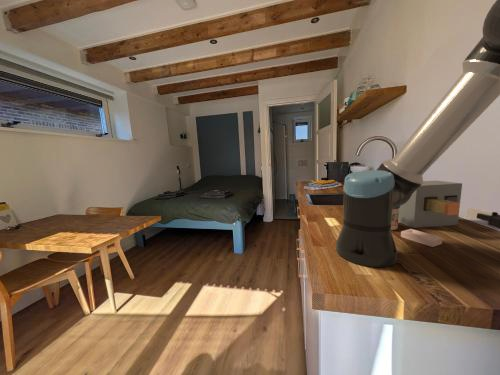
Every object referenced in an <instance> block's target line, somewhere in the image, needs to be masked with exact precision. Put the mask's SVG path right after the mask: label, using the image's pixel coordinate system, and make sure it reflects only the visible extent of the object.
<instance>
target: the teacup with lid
mask: <svg viewBox="0 0 500 375" xmlns="http://www.w3.org/2000/svg"><path fill="white" fill-rule="evenodd" d="M399 208H400V206H399V207H396V208H395V209H393V210H392V220H391V231H395V230H397V229H399V222H398V217H399Z"/></svg>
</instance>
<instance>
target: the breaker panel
mask: <svg viewBox="0 0 500 375" xmlns="http://www.w3.org/2000/svg"><path fill="white" fill-rule="evenodd" d="M462 190H463V183H462V182H461V183H460V182H453V181H443V180H423V183H422V185H421V186H420V187H419V188H418V189H417V190H416V191H415V192H414V193H413V194H412V196H411V197H410V199H409V200H408V201H407V202H406V203H405V204H403V205H401V206H400V208H399V217H398V223H400V224H403V225H405V226H407V227H410V228H413V229H414V228H415V229H417V228H431V227H443V226H458V225H459V216H460V213H459V214H457V215H445V214H441V213H438V212H434V211H430V210H426V209H424V197H433V198H438V199H443V200H448V201H454V202H459V203H460V204H461V198H462ZM460 208H461V205H460V206H459V209H460ZM457 224H458V225H457Z"/></svg>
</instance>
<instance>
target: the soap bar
mask: <svg viewBox="0 0 500 375" xmlns="http://www.w3.org/2000/svg"><path fill="white" fill-rule="evenodd" d="M400 237H401V238H404V239H407V240H409V241H413V242H415V243H419V244H422V245H424V246H428V247H436V246H440V245H442V244H443V238H442V237H441V236H438V235H435V234H430V233H427V232H424V231H420V230H417V229H414V228H413V229H412V228H409V229H405V230H402V231H400Z"/></svg>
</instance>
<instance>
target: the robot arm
mask: <svg viewBox="0 0 500 375" xmlns="http://www.w3.org/2000/svg"><path fill="white" fill-rule="evenodd" d="M461 63H462V64H461V65H462V70H463V71H462V73H461V75H460V76H459V77H458V79H457V80H456V81H455V82H454V84H453V85H451V87H450V89H448V91H447V92H446V94H444V96H443V97H442V98H441V99H440V101H439V102H438V103H437V104H436V106H434V108H432V110H431V111H430V113H429V114H428V115H427V117H425V119H424V120H423V122H422V123H421V124H419V126H418V127H417V129H416V130H415V131H414V132H413V133H412V134H411V136H410V137H409V138H408V139H407V140H406V142H405V143H404V144H403V145H402V147H401V148H400V149H399V150H398V152H397V153H396V154H395V155H394V157H392V158H391V159H387V160H383V161H382V163H380V165H379V166H378V168H376V170H375V169H373V170H372V169H369V170H361V171H353V172H351V173H348V174H347V175H346V176H345V177H344V183H343V186H342V187H343V189H342V190H343V206H342V207H343V209H342V210H343V212H342V213H343V214H342V216H343V218H342V227H341V230H340V232H339V234H338V236H337V237H338V238H337V239H336V243H335V251H336V253H337V254H338V255H339V256H340V257H341V258H343V259H345V260H347V261H349V262H351V263H354V264H355V265H356V264H357V265H360V266H365V267H372V268H385V267H391V266H393V265H395V264H397V262H398V249H397V247H396V244H395V243H396V242H395V240H394V236H393V234H392V230H391V220H392V210H393V209H395V208H396V207H399V206H401V205H403V204H405V203H406V202H407V201H408V200H409V199H410V197H411V196H412V194H413V193H414V192H415V191H416V190H417V189H418V188H419V187H420V186H421V185H422V183H423V181H424V179H423V175H424V174H425V173H426V172H427V171H428V169H430V167H432V165H433V164H434V163H435V162H436V161H438V160H439V158H441V156H442V155H443V154H444V153H446V152H447V150H448V149H449V148H450V146H451V147H452V145H453V144H454V142H456V141H457V140H458V139H459V138H460V137H461V136H462V135H463V133H464V132H466V131H467V129H468V128H469V127H471V125H472V124H473V123H474V122H476V120H477V119H478V118H479V117H480V116H481V115H482V114H483V113H484V112H485V111H486V110H488V108H489V107H490V106H491V105H492V104H493V103H494V102H495V100H497V98H498V97H500V0H496V1H494V3H493V4H492V6H491V7H490V9H489V11H488V12H487V14H486V16H485V18H484V21H483V25H482V37H481V38H480V40H479V41H478V42H477V43H476V45H475V46H474V48H473V49H472V50H471V51H470V53H468V55H467V56H466V57H465V59H464V60H463V61H462V62H461ZM467 217H468V218H471V219H475V220H479V221H483V222H486V223H487V226H491V227H494V228H497V229H500V214H499V212H498V211H489V210H482V209H479V208H474V207H467V209H466V218H467Z"/></svg>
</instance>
